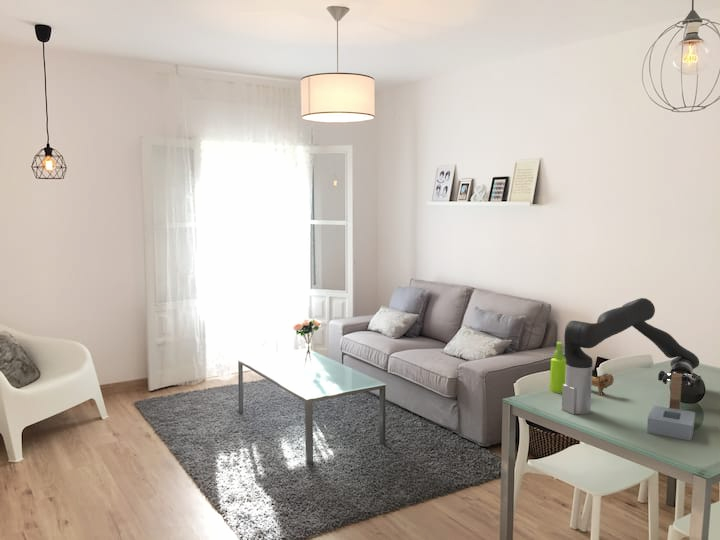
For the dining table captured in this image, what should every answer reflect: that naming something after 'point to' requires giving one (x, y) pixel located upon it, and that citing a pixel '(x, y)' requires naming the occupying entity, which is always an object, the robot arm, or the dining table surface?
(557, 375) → the green bottle
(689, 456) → the dining table surface
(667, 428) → the grey slotted block
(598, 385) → the lion figurine
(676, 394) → the slat
